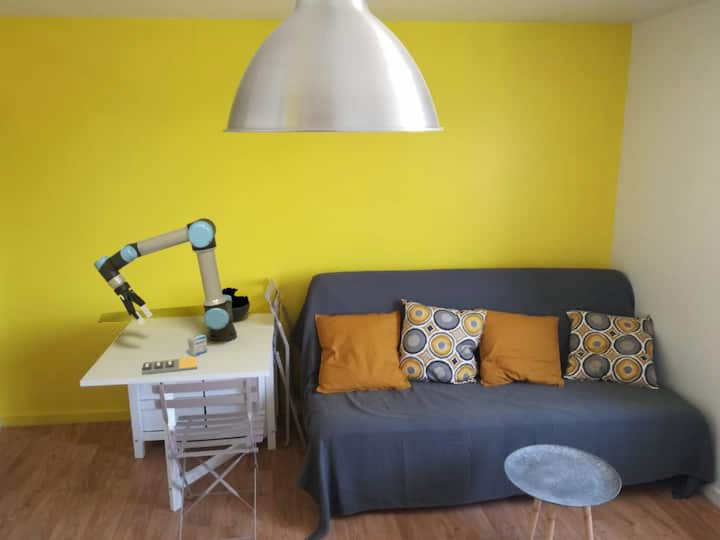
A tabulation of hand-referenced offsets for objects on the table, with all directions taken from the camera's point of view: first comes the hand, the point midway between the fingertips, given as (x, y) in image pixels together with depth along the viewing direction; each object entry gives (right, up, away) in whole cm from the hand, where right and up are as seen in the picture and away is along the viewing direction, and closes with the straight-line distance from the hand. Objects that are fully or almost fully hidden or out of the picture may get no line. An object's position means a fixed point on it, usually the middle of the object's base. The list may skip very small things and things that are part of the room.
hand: (146, 319), depth 302 cm
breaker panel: (+17, -20, -17) cm, 31 cm away
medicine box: (+25, -17, 0) cm, 30 cm away
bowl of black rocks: (+32, -5, +51) cm, 60 cm away
